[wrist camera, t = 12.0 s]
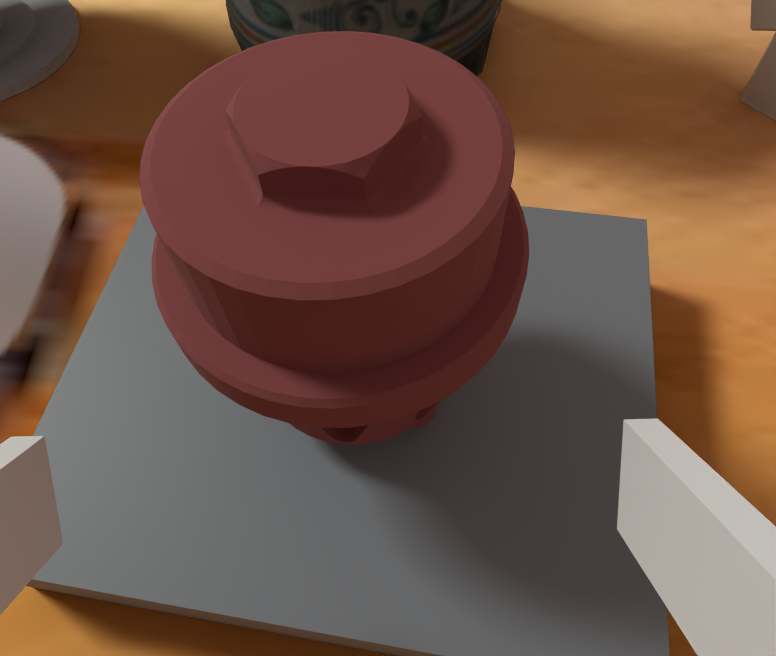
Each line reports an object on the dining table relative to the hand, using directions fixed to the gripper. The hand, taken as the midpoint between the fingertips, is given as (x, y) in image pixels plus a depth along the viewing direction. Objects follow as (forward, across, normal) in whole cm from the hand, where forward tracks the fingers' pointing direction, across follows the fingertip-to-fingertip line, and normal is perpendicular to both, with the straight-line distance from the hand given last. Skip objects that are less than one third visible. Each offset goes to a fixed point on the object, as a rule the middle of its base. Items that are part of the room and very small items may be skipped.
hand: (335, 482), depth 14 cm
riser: (+12, 0, -3) cm, 13 cm away
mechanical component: (+10, 0, -1) cm, 10 cm away
